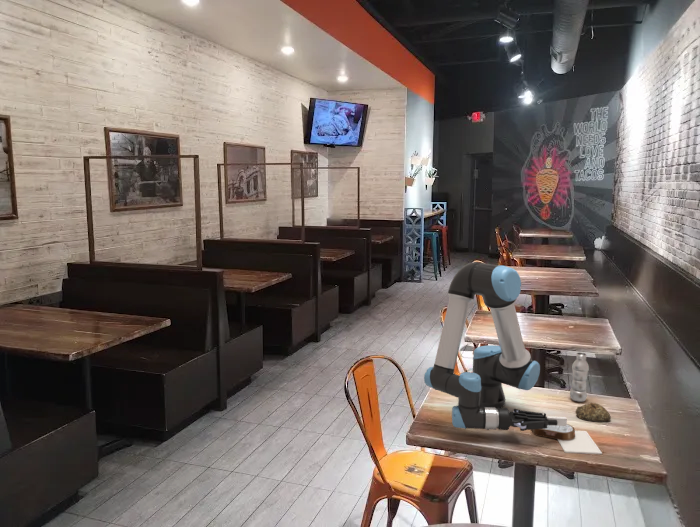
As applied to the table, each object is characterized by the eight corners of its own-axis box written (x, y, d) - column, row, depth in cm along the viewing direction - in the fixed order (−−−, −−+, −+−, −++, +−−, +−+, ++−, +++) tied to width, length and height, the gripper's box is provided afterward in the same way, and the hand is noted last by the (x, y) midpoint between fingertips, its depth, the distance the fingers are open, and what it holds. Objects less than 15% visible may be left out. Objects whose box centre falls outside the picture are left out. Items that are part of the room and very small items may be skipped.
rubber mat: (564, 452, 187) (564, 451, 187) (552, 430, 203) (552, 429, 202) (601, 454, 186) (602, 452, 186) (586, 432, 202) (586, 430, 201)
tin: (573, 441, 192) (576, 433, 200) (573, 433, 192) (577, 424, 199) (528, 434, 200) (533, 426, 207) (528, 425, 200) (533, 417, 207)
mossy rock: (612, 425, 208) (613, 412, 207) (576, 420, 211) (577, 408, 211) (606, 411, 220) (607, 399, 220) (573, 407, 224) (574, 395, 223)
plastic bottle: (585, 398, 232) (588, 352, 229) (587, 404, 225) (591, 357, 222) (568, 396, 234) (572, 350, 230) (570, 402, 227) (573, 355, 224)
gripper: (493, 420, 202) (560, 423, 200) (499, 437, 189) (570, 440, 187) (494, 400, 201) (561, 403, 199) (500, 416, 188) (572, 419, 186)
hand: (566, 421), depth 193 cm, fingers closed
